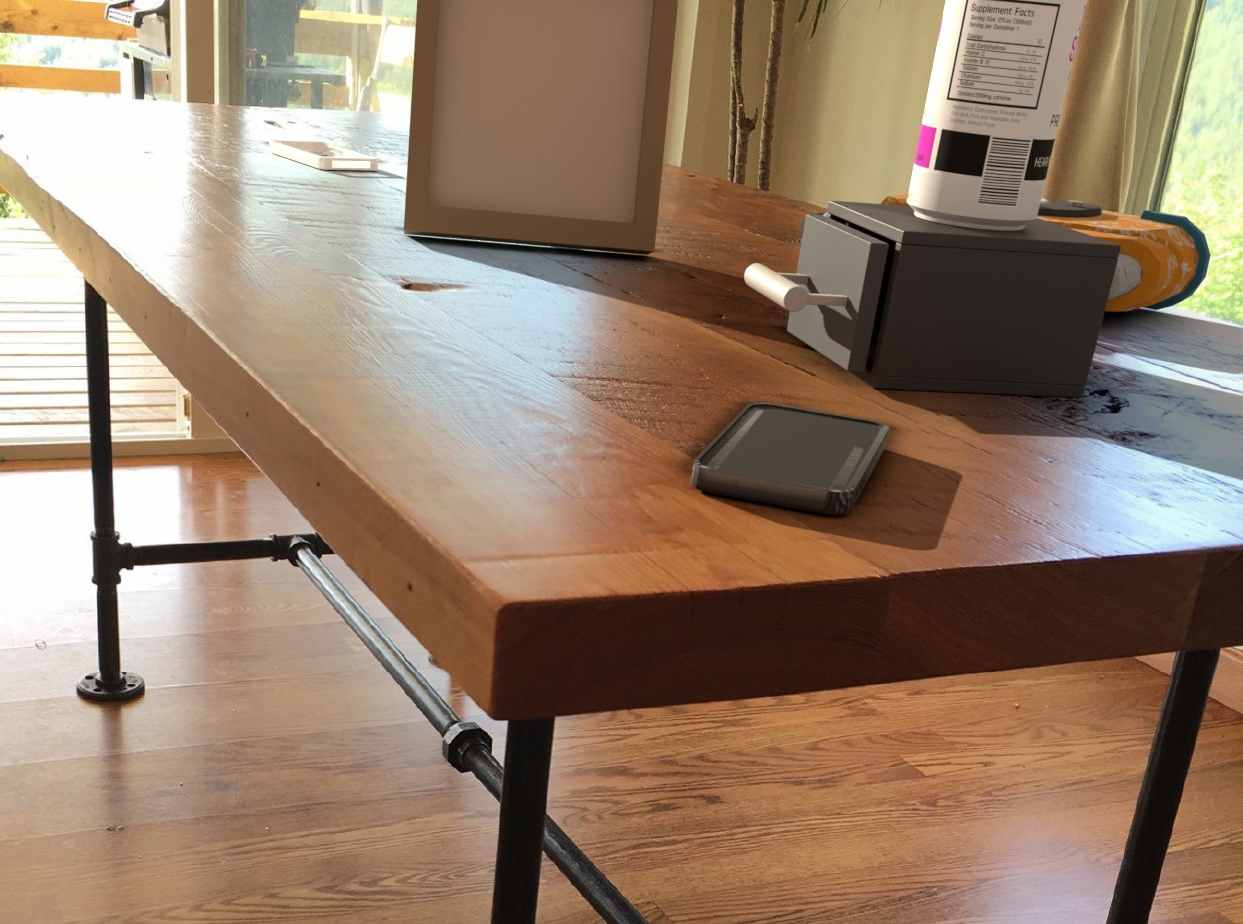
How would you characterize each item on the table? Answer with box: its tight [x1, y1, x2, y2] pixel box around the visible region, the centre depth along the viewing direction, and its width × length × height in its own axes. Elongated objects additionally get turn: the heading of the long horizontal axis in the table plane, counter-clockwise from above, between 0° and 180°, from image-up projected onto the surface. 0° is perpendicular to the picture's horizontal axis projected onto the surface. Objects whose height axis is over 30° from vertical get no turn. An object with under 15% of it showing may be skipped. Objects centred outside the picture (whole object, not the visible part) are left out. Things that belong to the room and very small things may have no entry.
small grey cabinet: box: [804, 200, 1121, 399], centre depth 101 cm, size 15×13×10 cm
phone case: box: [268, 139, 379, 172], centre depth 177 cm, size 7×1×15 cm
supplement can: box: [907, 0, 1088, 231], centre depth 95 cm, size 8×8×15 cm
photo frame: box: [403, 0, 679, 256], centre depth 133 cm, size 15×22×25 cm
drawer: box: [743, 213, 898, 372], centre depth 100 cm, size 18×11×8 cm, turn 100°
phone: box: [689, 401, 890, 516], centre depth 78 cm, size 8×1×15 cm
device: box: [799, 193, 1211, 312], centre depth 130 cm, size 23×8×30 cm
